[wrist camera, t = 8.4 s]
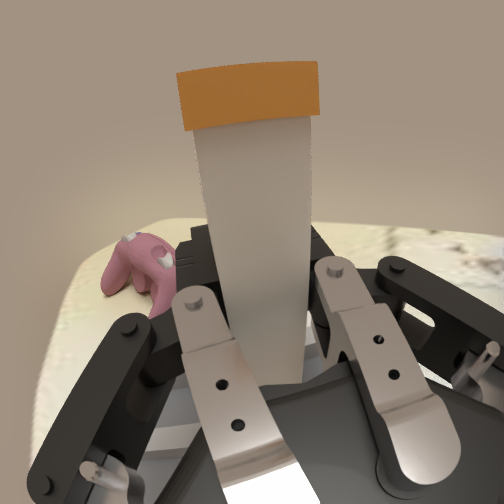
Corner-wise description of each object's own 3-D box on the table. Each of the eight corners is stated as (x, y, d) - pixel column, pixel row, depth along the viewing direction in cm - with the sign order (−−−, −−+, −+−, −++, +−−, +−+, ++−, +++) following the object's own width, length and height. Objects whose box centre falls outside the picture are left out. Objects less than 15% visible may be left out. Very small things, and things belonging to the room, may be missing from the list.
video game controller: (196, 332, 24) (208, 254, 22) (152, 347, 21) (159, 260, 19) (135, 286, 30) (141, 221, 28) (97, 293, 26) (100, 223, 24)
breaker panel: (324, 312, 23) (329, 268, 20) (406, 471, 12) (439, 450, 9) (136, 353, 21) (113, 314, 18) (148, 534, 10) (109, 530, 7)
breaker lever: (288, 364, 16) (279, 62, 7) (304, 406, 13) (321, 61, 5) (236, 377, 15) (174, 74, 7) (247, 421, 13) (170, 74, 5)
